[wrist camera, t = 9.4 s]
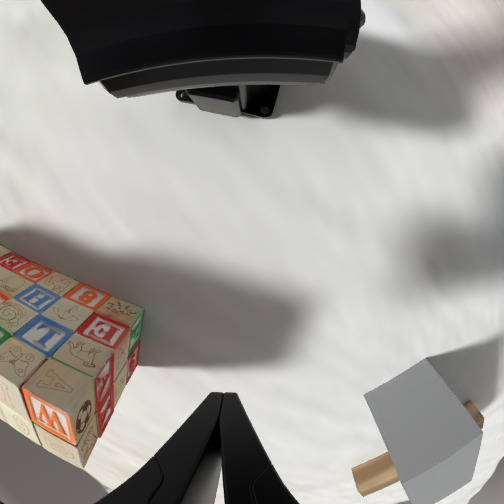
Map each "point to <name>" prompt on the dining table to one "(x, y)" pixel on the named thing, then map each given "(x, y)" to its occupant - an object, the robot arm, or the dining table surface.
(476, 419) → the brown wooden long bar
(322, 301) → the dining table surface
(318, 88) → the dining table surface
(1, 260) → the stack of blocks
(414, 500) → the block
